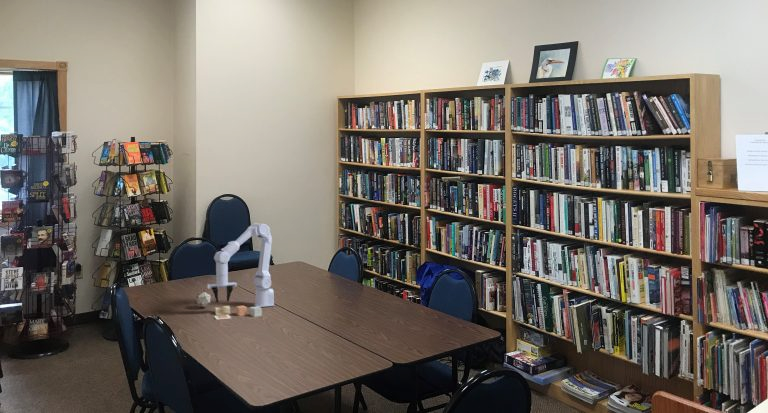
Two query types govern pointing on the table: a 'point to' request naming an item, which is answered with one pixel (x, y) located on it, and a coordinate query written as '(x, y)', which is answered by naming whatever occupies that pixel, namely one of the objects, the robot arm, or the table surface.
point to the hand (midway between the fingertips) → (222, 301)
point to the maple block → (222, 310)
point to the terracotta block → (241, 310)
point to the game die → (204, 299)
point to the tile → (222, 317)
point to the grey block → (255, 311)
